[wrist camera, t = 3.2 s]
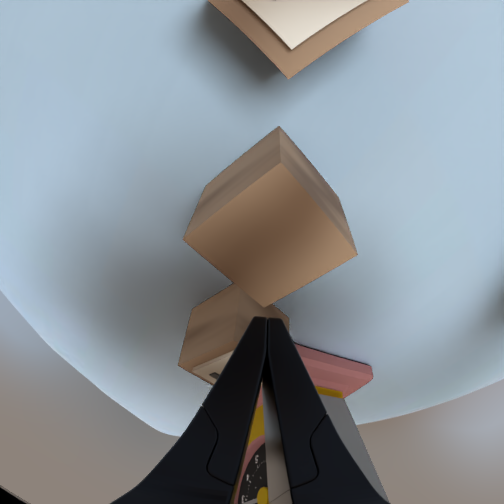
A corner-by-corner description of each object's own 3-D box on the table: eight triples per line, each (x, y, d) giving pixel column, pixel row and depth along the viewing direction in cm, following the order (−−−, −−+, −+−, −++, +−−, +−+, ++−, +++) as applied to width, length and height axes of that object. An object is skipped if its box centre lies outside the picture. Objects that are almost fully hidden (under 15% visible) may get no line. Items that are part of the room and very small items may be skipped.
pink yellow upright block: (308, 319, 22) (307, 625, 5) (393, 348, 24) (421, 584, 7) (207, 413, 35) (186, 568, 18) (272, 427, 37) (264, 572, 20)
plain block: (338, 196, 16) (357, 254, 12) (267, 243, 18) (263, 307, 14) (279, 125, 14) (280, 162, 10) (206, 184, 16) (182, 239, 12)
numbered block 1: (288, 317, 22) (289, 382, 18) (239, 341, 24) (232, 400, 20) (241, 277, 20) (232, 346, 16) (192, 308, 22) (176, 370, 18)
